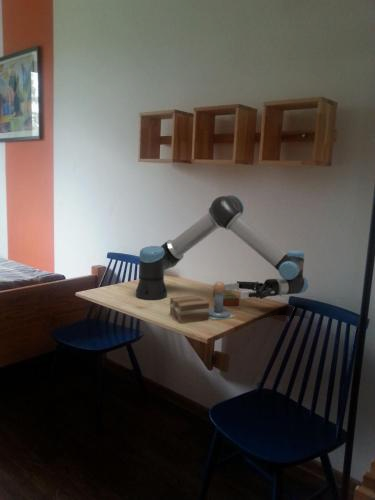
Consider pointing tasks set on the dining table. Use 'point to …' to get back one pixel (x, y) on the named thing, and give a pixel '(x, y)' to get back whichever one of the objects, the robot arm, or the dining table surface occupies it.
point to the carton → (229, 298)
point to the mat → (221, 318)
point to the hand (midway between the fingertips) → (232, 291)
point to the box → (189, 309)
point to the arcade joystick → (219, 302)
